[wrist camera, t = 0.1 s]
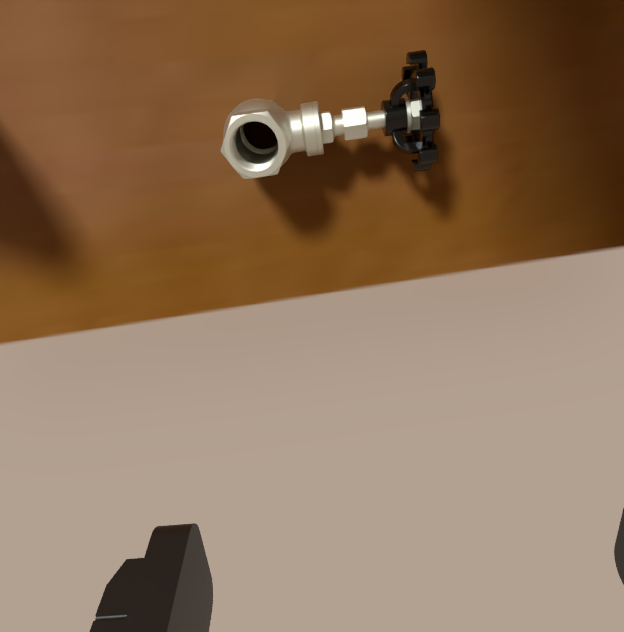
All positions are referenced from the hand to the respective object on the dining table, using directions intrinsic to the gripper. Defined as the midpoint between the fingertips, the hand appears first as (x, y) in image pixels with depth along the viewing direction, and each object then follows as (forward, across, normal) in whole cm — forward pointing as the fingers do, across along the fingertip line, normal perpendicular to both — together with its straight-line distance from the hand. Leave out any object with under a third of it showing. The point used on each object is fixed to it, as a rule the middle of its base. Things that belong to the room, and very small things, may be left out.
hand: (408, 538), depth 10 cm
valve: (+30, 0, -4) cm, 30 cm away
